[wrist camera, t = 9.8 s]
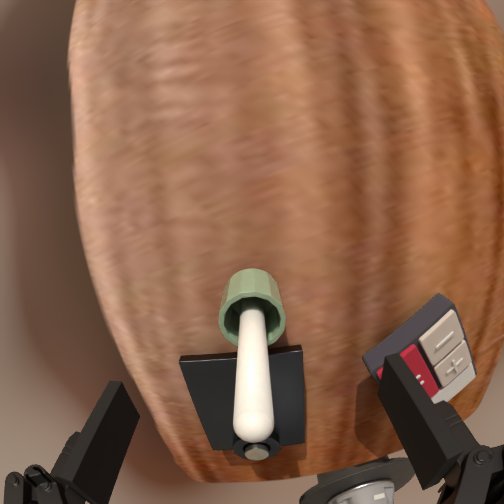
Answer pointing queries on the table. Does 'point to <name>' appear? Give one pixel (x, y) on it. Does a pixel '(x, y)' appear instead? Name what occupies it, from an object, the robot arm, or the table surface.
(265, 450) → the button
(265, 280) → the pen cup
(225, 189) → the table surface
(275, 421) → the tablet
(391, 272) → the table surface
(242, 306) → the stylus
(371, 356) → the calculator
